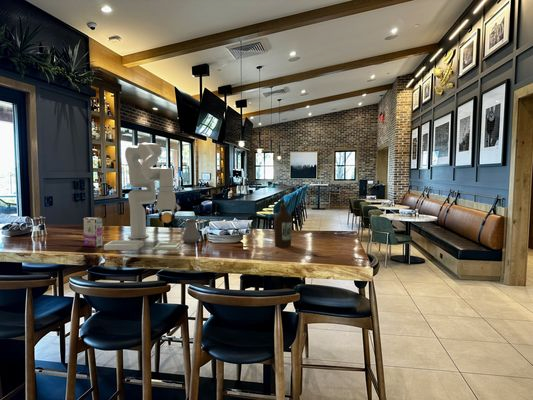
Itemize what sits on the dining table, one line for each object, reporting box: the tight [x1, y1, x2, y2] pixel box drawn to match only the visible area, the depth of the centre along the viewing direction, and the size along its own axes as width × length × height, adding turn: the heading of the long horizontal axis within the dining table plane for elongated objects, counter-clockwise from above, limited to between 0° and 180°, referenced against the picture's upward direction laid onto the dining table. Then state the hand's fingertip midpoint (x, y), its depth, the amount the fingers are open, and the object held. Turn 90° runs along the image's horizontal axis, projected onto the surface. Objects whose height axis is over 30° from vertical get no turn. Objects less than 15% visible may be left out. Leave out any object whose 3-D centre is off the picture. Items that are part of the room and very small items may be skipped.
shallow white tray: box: [103, 239, 145, 251], centre depth 197 cm, size 12×18×3 cm, turn 94°
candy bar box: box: [82, 216, 104, 248], centre depth 202 cm, size 11×5×16 cm, turn 62°
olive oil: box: [273, 203, 293, 249], centre depth 202 cm, size 11×11×25 cm
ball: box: [161, 212, 172, 224], centre depth 197 cm, size 6×6×6 cm
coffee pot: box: [181, 214, 201, 244], centre depth 220 cm, size 21×12×15 cm, turn 176°
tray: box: [151, 242, 182, 251], centre depth 199 cm, size 13×14×1 cm
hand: (167, 220), depth 197 cm, fingers closed on ball, 5 cm apart
